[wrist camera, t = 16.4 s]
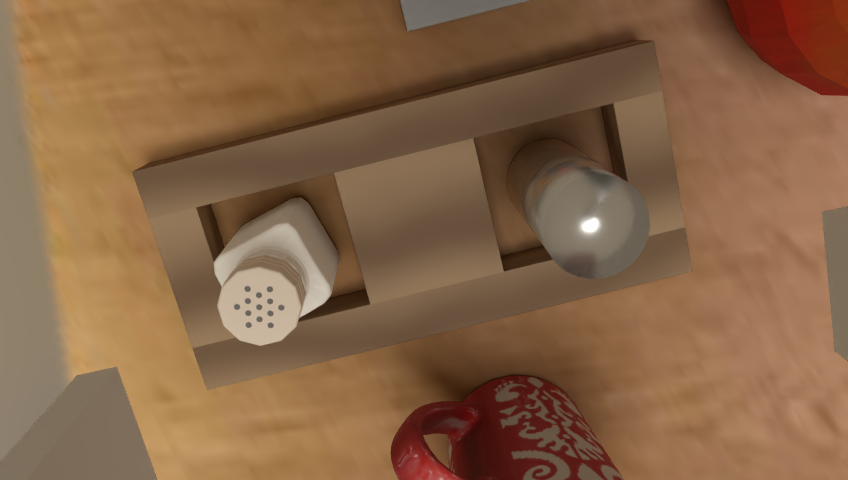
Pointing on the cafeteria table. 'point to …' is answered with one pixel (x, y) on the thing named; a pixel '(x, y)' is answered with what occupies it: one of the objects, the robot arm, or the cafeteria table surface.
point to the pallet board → (416, 210)
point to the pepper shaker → (275, 273)
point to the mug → (503, 437)
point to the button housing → (445, 10)
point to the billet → (578, 209)
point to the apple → (799, 39)
